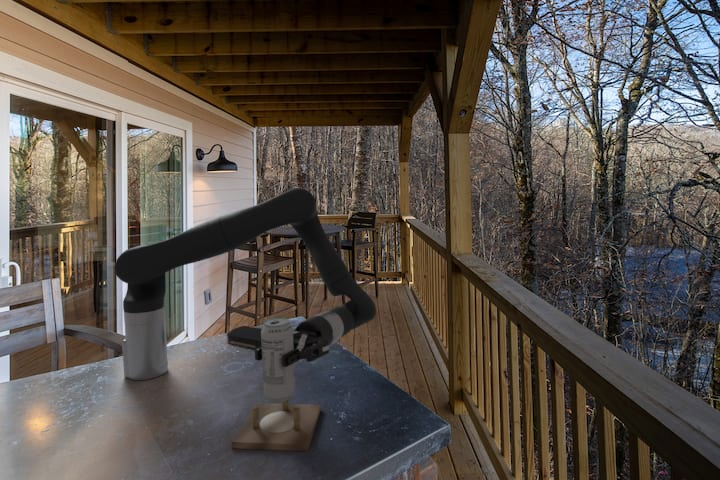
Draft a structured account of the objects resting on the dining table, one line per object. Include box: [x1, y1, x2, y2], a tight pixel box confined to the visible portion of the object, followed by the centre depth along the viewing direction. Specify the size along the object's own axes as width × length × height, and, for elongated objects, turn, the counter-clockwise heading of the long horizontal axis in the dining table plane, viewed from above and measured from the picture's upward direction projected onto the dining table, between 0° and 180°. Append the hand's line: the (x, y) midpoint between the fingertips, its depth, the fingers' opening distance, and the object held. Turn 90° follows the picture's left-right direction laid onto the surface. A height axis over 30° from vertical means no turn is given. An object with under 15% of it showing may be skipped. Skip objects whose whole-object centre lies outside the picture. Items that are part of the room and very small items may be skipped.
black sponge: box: [226, 325, 262, 350], centre depth 127 cm, size 16×8×4 cm, turn 63°
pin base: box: [230, 400, 322, 452], centre depth 79 cm, size 14×14×5 cm
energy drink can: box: [261, 317, 296, 403], centre depth 78 cm, size 6×6×15 cm
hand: (269, 358), depth 76 cm, fingers closed on energy drink can, 6 cm apart
